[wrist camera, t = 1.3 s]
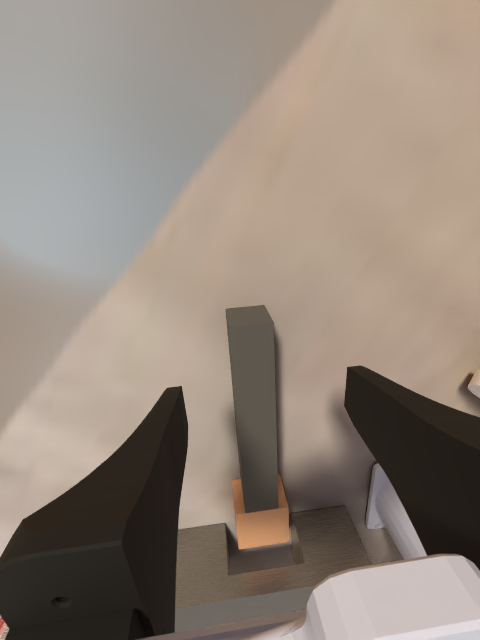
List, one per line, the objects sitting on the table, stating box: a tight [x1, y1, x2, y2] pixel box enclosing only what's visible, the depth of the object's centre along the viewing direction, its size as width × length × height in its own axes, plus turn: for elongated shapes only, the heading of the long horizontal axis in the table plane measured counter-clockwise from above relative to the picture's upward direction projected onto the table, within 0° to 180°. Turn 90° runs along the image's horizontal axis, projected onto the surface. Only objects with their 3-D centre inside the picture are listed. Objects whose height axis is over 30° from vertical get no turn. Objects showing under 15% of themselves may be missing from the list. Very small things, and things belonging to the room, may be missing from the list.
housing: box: [175, 506, 372, 633], centre depth 25 cm, size 16×5×6 cm, turn 94°
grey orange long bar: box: [226, 305, 289, 550], centre depth 21 cm, size 4×19×3 cm, turn 4°
